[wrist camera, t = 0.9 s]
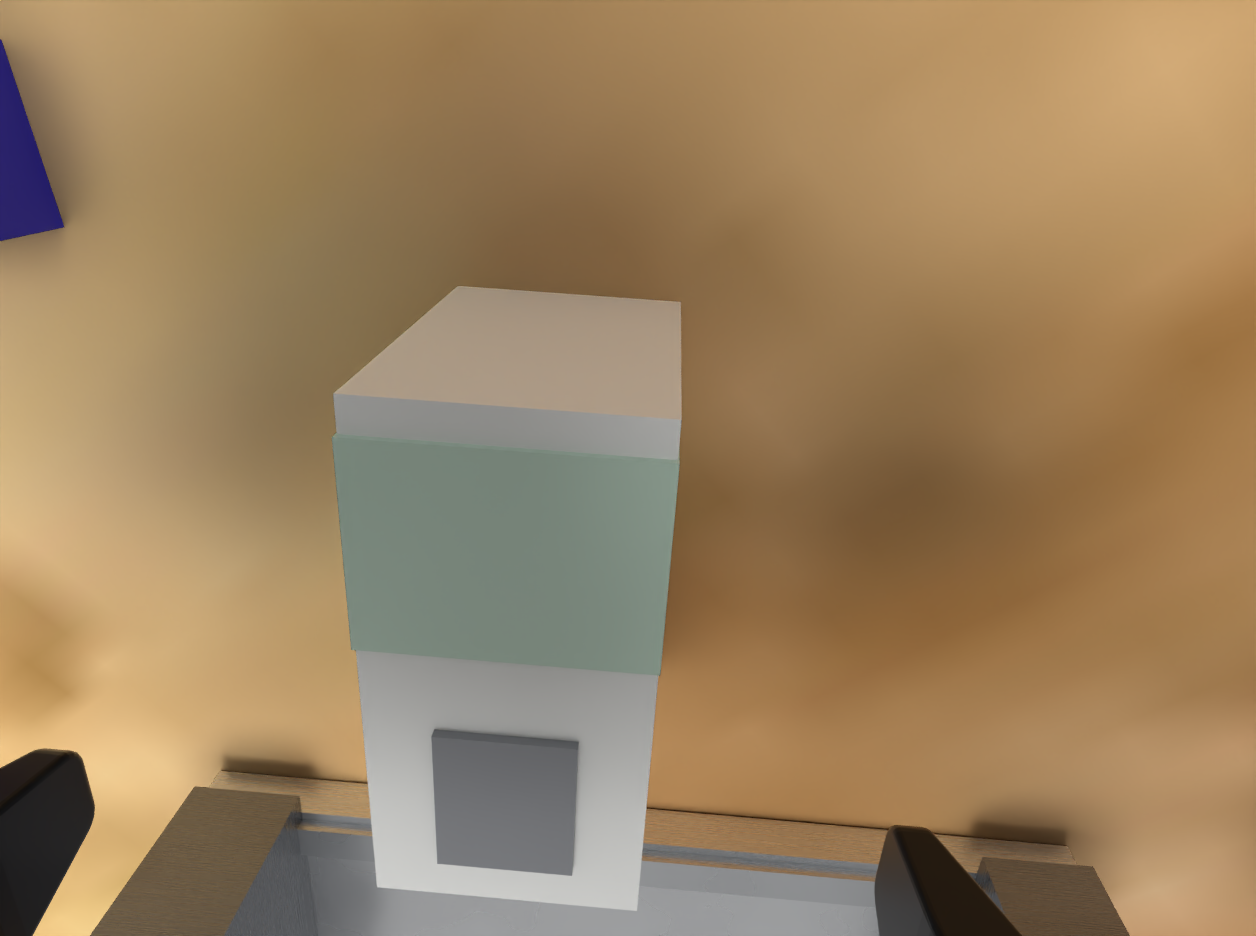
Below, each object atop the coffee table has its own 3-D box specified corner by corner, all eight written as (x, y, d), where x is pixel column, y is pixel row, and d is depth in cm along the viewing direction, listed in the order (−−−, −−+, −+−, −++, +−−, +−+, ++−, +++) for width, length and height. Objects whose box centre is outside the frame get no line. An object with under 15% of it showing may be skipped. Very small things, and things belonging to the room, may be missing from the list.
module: (681, 301, 15) (683, 425, 9) (650, 666, 18) (637, 919, 13) (457, 284, 15) (327, 398, 10) (466, 650, 18) (372, 895, 13)
